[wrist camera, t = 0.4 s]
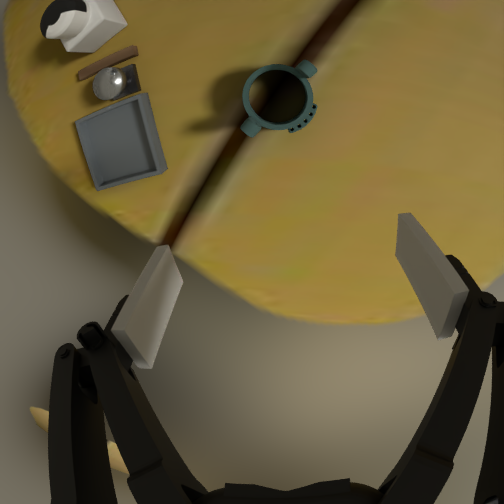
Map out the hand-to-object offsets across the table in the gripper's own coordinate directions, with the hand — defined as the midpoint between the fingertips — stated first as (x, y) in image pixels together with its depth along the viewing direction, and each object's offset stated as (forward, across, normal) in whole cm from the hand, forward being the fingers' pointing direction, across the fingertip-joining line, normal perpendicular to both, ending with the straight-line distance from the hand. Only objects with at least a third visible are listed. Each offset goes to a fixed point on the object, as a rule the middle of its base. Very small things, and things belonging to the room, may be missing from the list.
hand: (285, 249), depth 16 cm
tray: (+27, -23, +6) cm, 36 cm away
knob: (+27, -20, +15) cm, 36 cm away
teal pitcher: (+27, +1, +7) cm, 28 cm away
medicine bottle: (+27, -21, +26) cm, 43 cm away
